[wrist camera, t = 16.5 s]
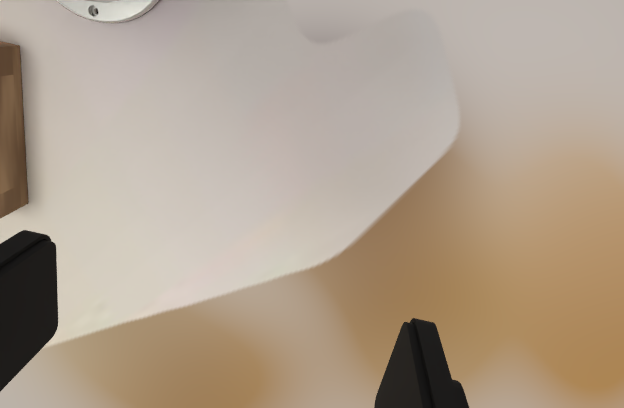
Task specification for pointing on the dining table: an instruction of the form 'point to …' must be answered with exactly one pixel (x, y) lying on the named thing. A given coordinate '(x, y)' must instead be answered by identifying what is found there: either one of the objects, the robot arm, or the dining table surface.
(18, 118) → the walnut box
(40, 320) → the robot arm
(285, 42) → the dining table surface
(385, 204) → the dining table surface
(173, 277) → the dining table surface
